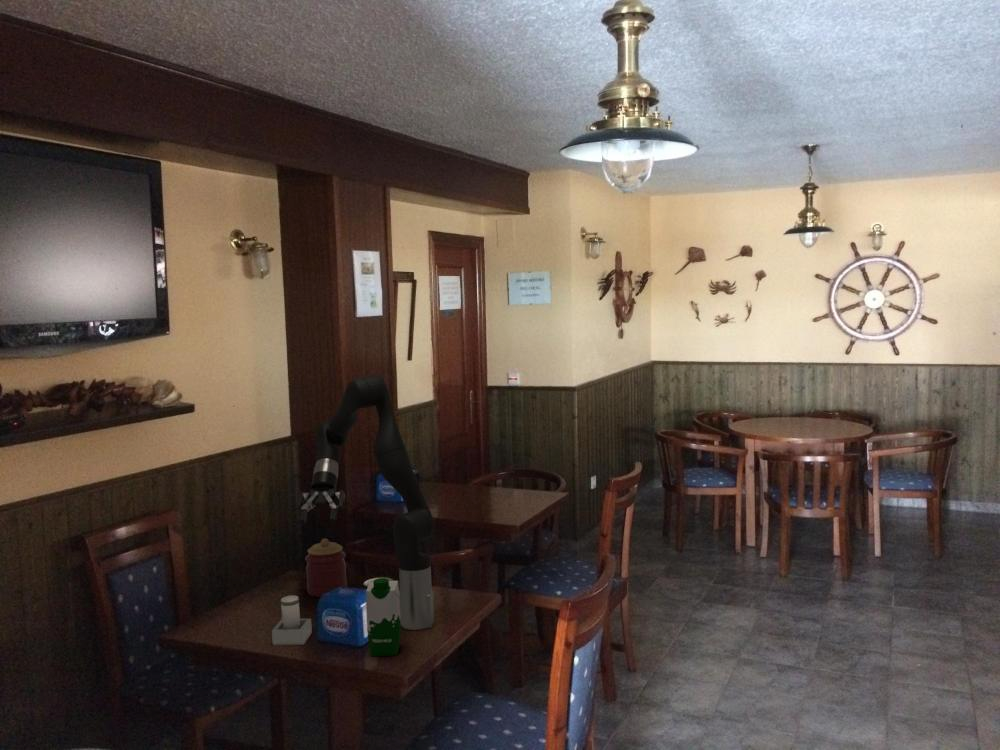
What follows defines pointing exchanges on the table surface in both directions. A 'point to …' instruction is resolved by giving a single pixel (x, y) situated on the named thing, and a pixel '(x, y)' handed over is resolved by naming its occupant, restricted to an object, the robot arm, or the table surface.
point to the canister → (325, 568)
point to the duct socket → (292, 633)
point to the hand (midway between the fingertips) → (317, 522)
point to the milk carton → (383, 617)
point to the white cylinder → (290, 612)
